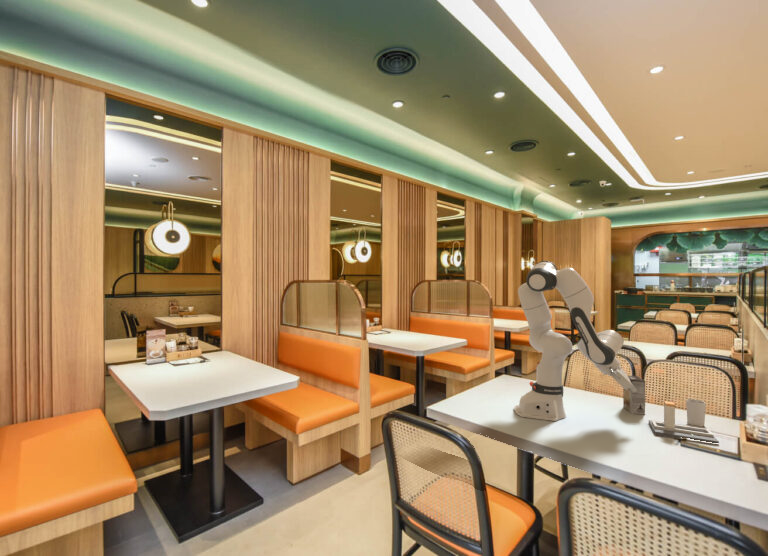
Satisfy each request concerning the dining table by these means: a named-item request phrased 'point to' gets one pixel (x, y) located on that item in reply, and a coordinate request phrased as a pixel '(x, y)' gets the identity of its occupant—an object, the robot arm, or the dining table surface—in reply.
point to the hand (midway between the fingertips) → (635, 390)
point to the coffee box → (635, 396)
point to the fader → (669, 414)
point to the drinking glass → (695, 412)
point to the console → (682, 432)
